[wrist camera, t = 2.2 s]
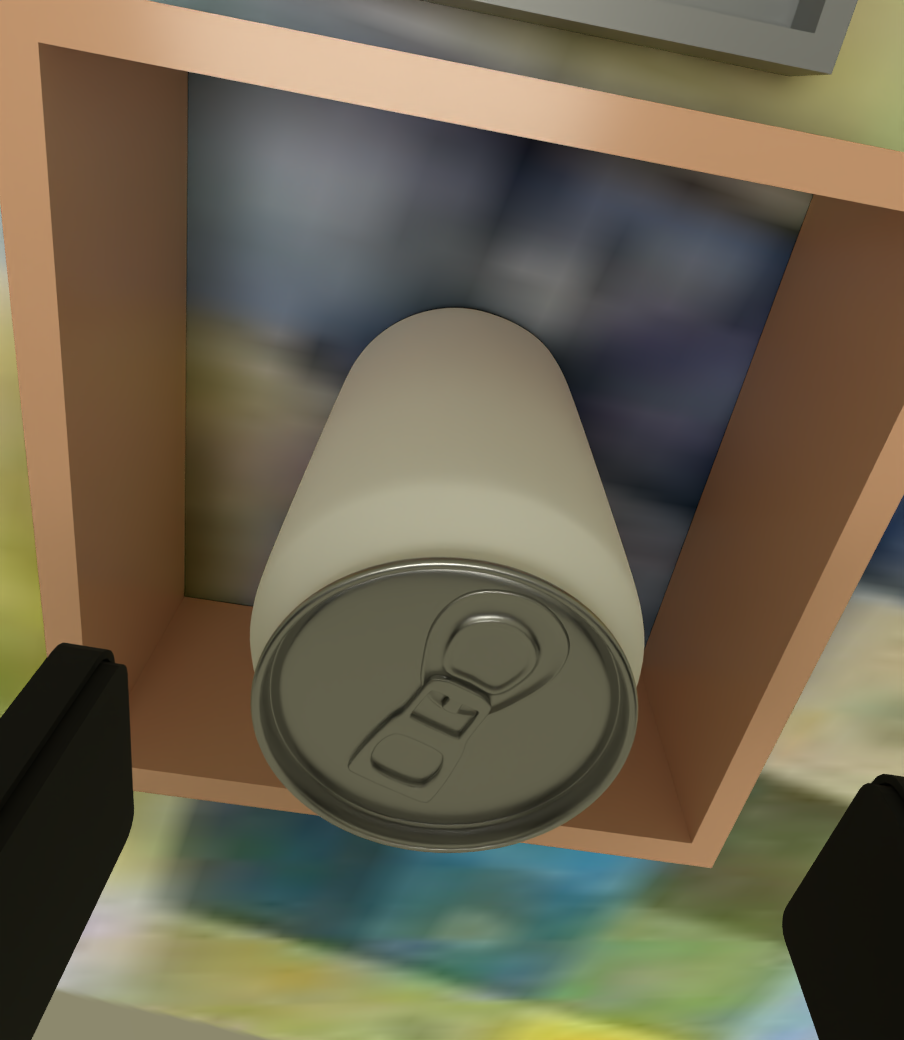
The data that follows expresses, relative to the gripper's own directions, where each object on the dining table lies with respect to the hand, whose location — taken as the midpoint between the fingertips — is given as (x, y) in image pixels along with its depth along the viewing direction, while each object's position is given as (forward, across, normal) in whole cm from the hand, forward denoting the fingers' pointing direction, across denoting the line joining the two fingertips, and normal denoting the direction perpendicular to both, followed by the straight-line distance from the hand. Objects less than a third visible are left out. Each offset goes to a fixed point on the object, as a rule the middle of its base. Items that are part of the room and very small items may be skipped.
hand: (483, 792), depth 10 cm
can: (+14, +1, 0) cm, 14 cm away
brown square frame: (+13, +1, 0) cm, 13 cm away
